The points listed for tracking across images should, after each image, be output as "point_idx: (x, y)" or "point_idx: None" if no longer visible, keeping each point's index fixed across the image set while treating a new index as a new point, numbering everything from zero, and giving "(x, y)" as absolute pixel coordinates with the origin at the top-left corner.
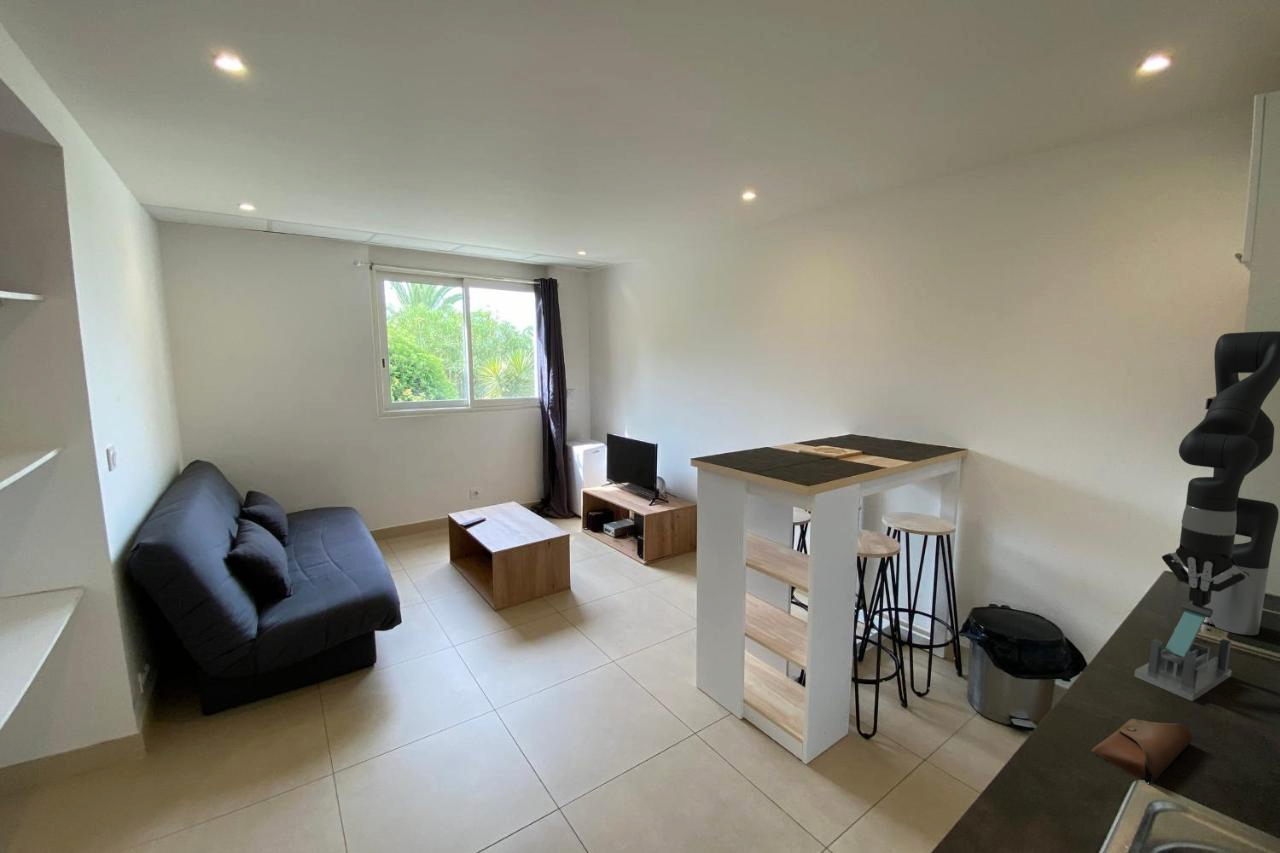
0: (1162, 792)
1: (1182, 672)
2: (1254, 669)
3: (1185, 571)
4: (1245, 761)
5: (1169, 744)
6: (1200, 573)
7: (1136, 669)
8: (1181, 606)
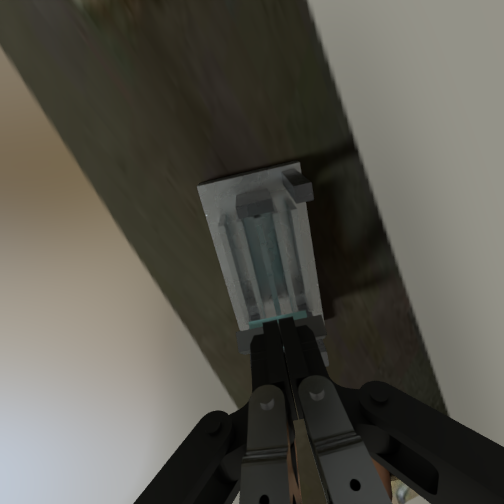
0: (395, 480)
1: (274, 277)
2: (295, 50)
3: (206, 479)
4: (416, 383)
5: (385, 470)
6: (295, 496)
7: None
8: (246, 353)
